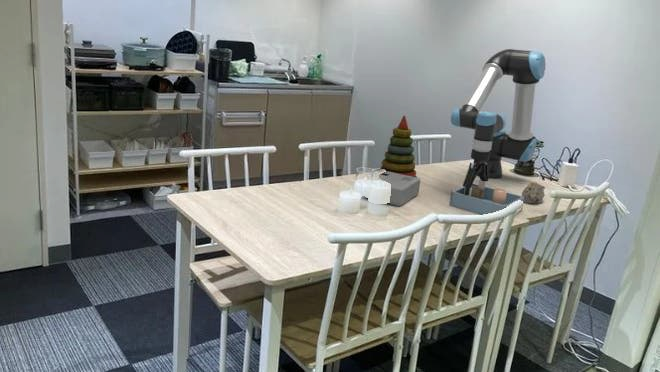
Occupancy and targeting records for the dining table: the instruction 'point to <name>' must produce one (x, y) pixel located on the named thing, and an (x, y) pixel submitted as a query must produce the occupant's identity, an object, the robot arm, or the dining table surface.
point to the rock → (533, 193)
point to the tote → (481, 201)
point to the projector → (401, 187)
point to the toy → (400, 152)
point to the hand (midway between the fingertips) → (473, 198)
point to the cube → (477, 192)
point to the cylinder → (499, 196)
